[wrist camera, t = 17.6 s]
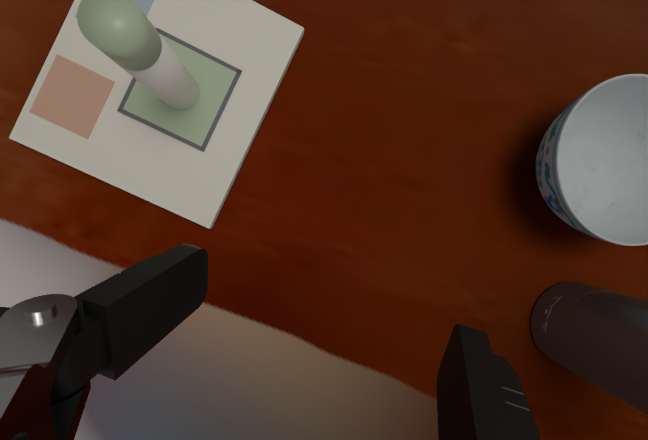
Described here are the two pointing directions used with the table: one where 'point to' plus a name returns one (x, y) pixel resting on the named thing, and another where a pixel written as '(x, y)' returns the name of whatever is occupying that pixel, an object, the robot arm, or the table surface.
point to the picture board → (163, 104)
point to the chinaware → (600, 162)
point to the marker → (138, 49)
